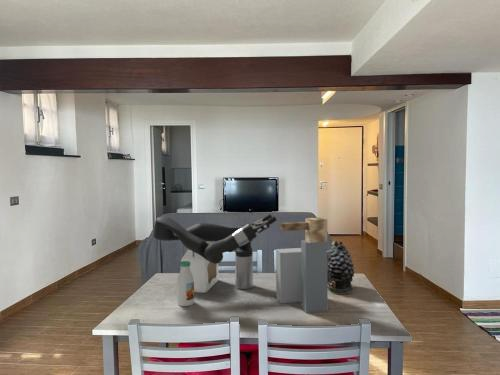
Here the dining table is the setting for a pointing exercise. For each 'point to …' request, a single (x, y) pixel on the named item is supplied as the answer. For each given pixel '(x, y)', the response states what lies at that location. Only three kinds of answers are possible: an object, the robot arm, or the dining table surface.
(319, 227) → the oak block with handle
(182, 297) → the milk bottle
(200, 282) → the gable box
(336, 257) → the dark fir cone
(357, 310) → the dining table surface
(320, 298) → the slate shelf stand
